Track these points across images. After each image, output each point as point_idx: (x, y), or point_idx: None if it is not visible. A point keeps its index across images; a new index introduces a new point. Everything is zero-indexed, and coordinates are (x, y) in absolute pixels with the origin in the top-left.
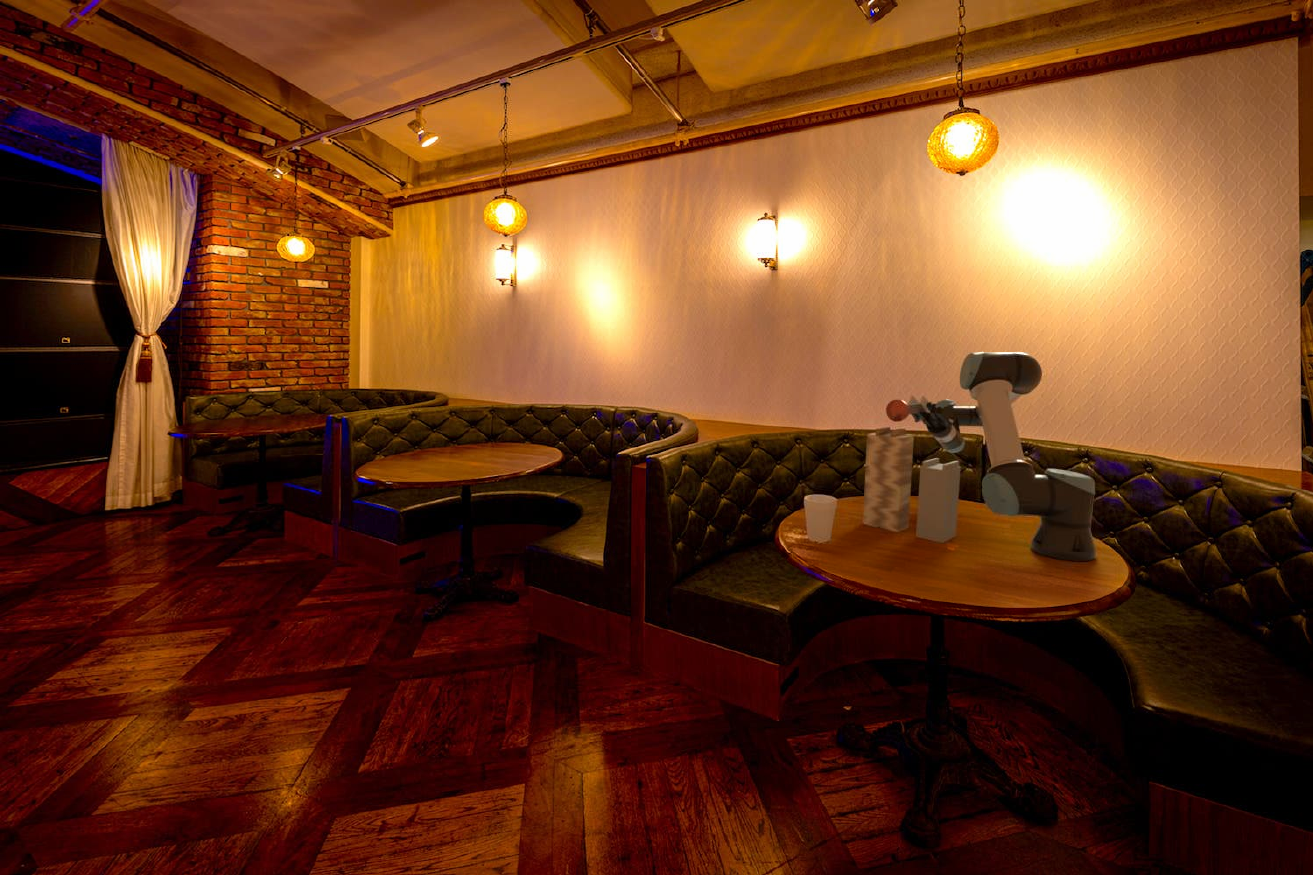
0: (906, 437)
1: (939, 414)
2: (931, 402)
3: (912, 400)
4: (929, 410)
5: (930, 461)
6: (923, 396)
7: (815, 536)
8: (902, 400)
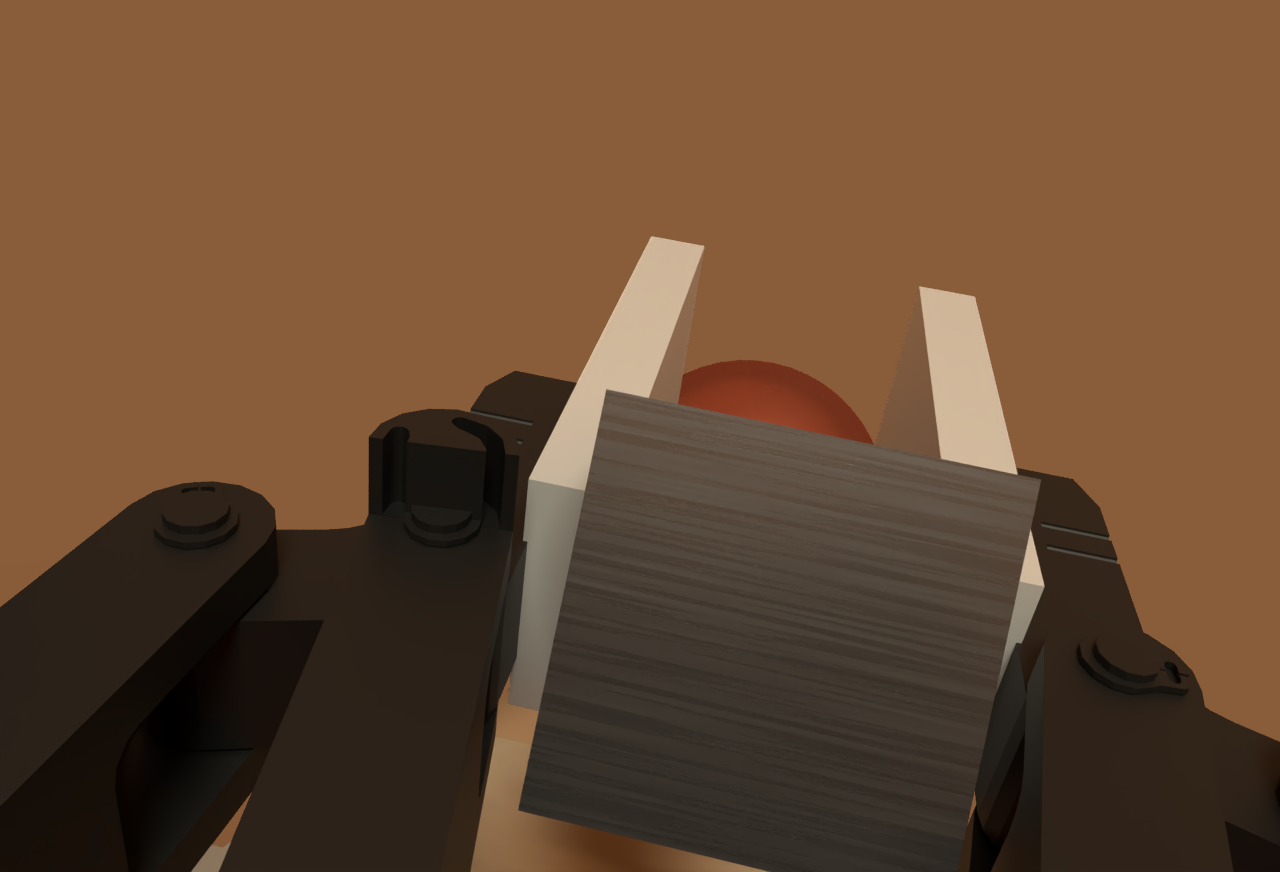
0: (507, 691)
1: (141, 749)
2: (602, 417)
3: (893, 403)
4: (512, 658)
5: (225, 850)
6: (665, 243)
7: None
8: (723, 362)
